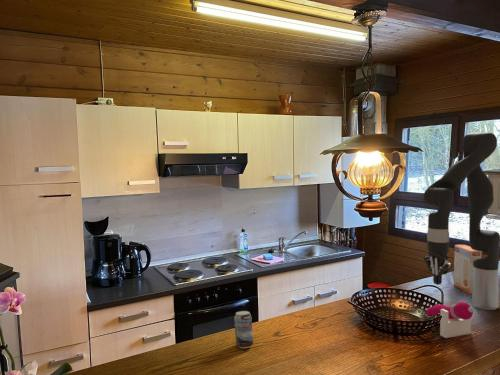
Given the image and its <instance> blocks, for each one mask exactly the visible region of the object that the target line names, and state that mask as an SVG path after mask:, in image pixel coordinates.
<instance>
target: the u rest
mask: <svg viewBox="0 0 500 375" xmlns="http://www.w3.org/2000/svg"><path fill="white" fill-rule="evenodd" d="M448 314H449V311H447V310H445V309H441V310H440V315H441V316H442V318H441V320H440V324H439V325H440V326H439V334H440V336H441V337H442V338H445V339H448V338H454V337H460V336H465V335H470V334H472V317H471V318H470V319H466V320H464V319H456V318H452V319H448Z"/></svg>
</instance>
